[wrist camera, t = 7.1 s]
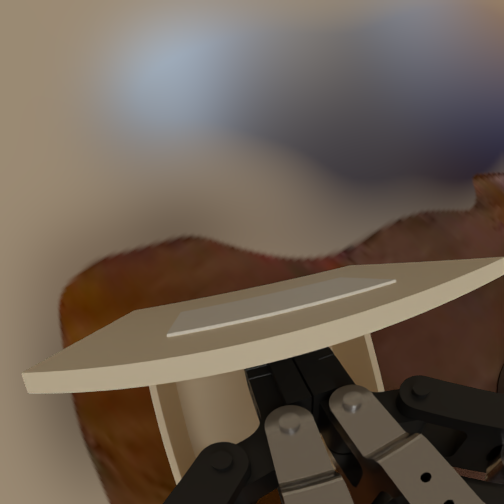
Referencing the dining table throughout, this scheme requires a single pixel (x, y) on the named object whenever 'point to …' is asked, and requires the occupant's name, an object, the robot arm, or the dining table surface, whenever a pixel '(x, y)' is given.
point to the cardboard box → (234, 405)
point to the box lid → (255, 325)
